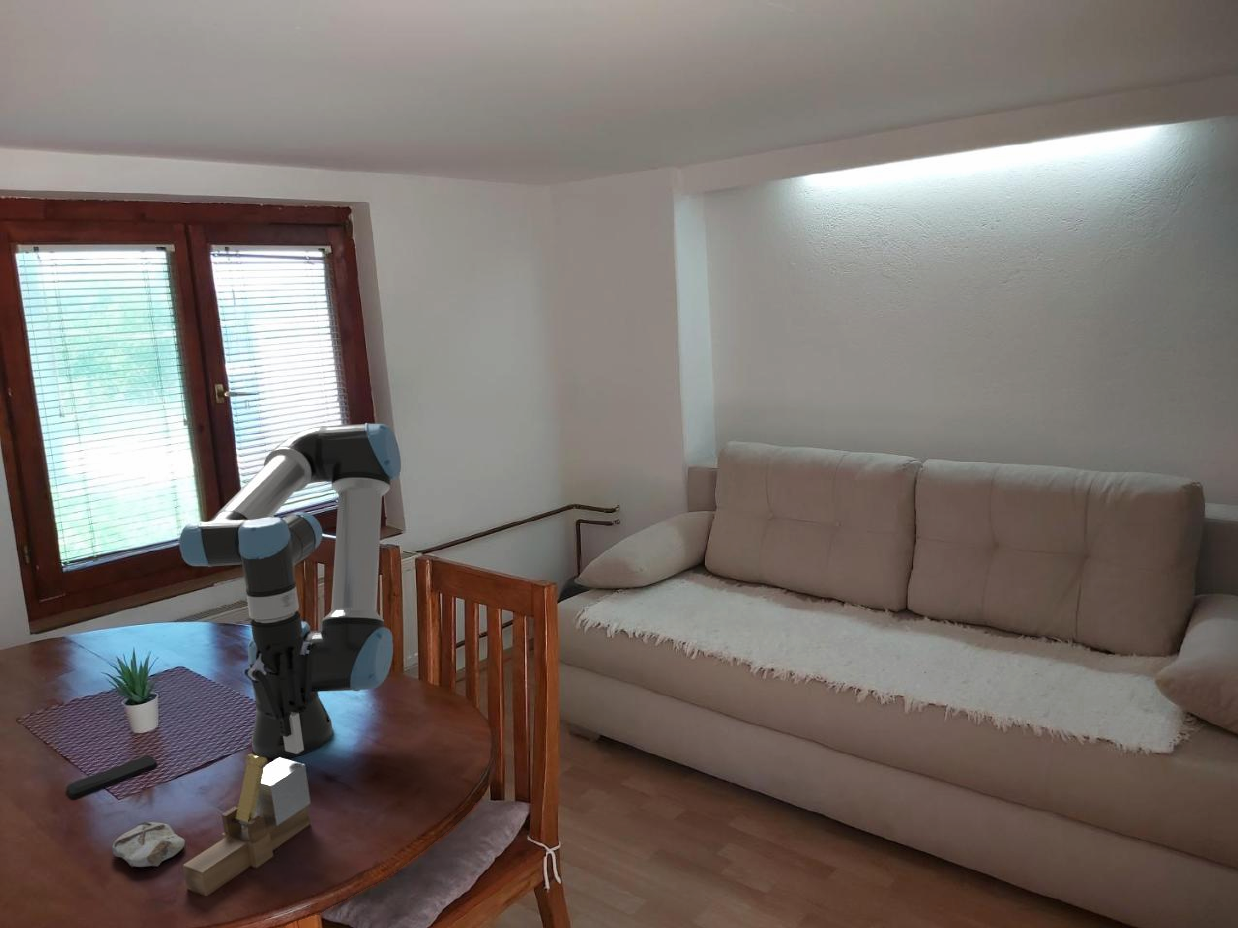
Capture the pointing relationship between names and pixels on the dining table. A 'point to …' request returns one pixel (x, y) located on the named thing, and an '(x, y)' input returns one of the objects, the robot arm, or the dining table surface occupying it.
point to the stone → (148, 844)
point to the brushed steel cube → (282, 791)
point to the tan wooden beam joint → (239, 850)
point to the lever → (250, 789)
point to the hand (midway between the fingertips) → (294, 750)
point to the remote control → (111, 776)
